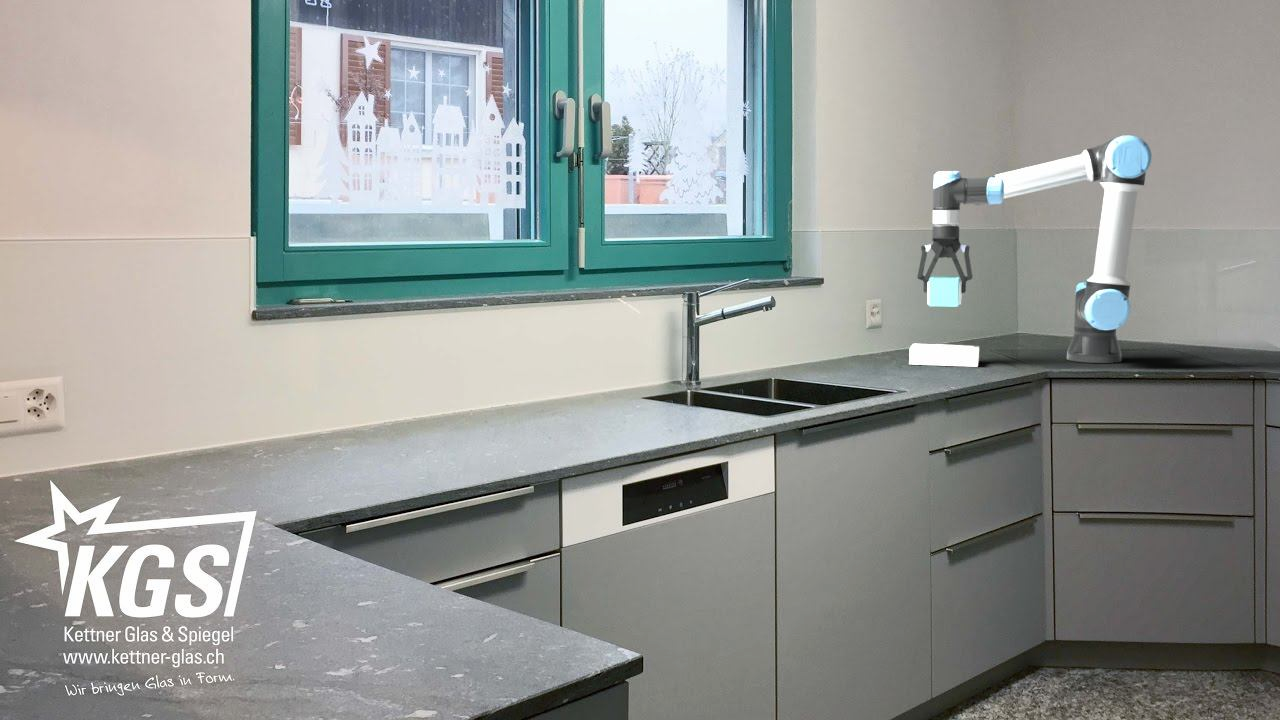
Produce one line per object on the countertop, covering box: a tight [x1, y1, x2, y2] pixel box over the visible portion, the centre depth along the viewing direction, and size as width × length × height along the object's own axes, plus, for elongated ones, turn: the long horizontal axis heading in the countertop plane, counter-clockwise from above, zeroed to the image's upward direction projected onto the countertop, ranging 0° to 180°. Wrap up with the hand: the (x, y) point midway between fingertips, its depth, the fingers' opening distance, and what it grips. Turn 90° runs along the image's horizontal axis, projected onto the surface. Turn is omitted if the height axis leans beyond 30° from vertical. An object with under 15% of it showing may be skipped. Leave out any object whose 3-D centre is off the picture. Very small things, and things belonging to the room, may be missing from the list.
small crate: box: [928, 276, 961, 307], centre depth 351 cm, size 8×8×8 cm
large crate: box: [908, 343, 980, 368], centre depth 352 cm, size 19×14×4 cm
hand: (944, 304), depth 351 cm, fingers closed on small crate, 8 cm apart
